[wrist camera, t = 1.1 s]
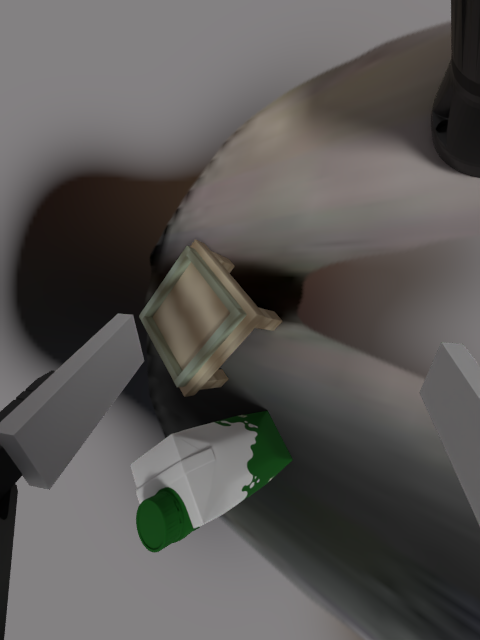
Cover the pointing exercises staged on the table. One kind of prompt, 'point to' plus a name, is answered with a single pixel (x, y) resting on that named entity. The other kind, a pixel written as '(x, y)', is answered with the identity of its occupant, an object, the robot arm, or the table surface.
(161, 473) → the milk carton
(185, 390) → the stool
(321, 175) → the table surface
